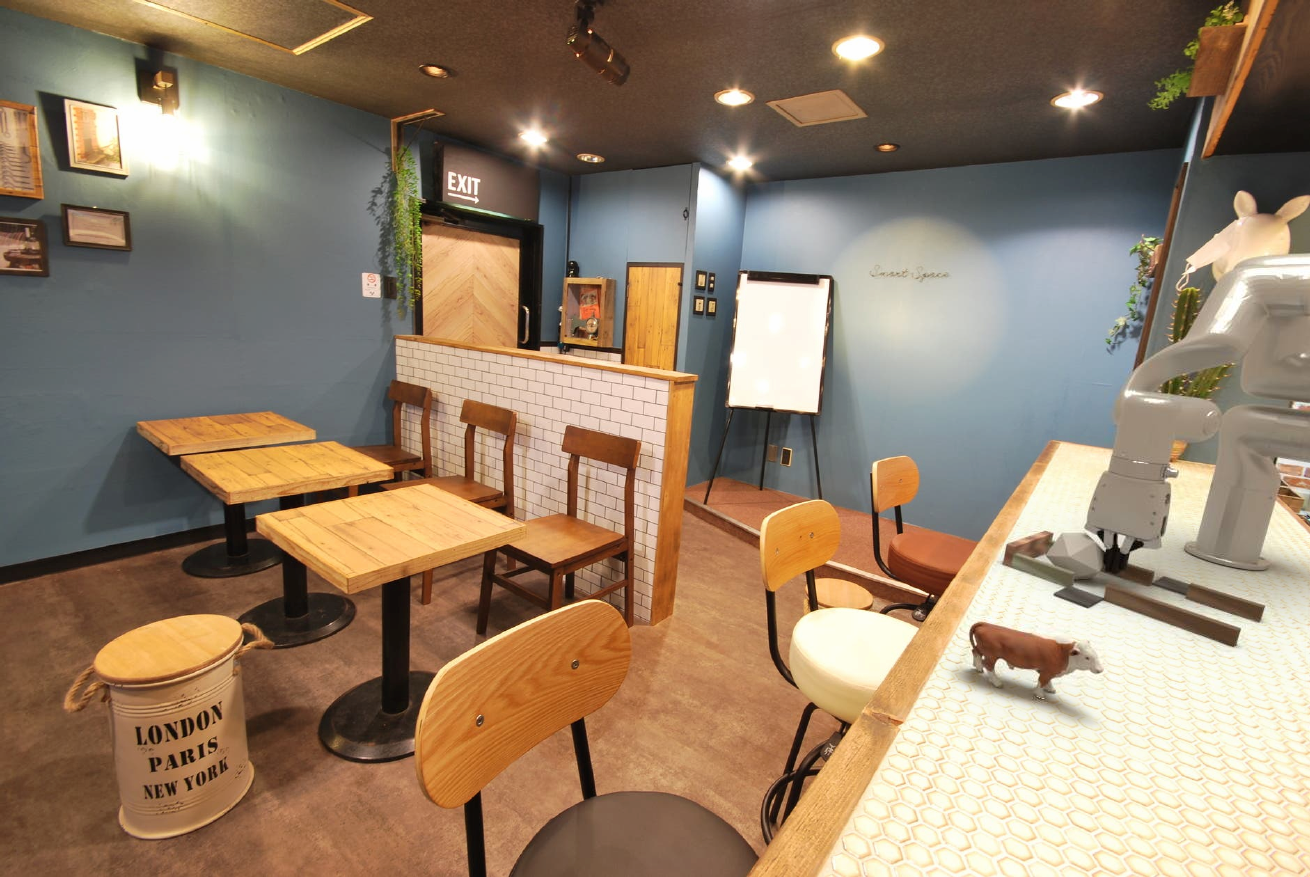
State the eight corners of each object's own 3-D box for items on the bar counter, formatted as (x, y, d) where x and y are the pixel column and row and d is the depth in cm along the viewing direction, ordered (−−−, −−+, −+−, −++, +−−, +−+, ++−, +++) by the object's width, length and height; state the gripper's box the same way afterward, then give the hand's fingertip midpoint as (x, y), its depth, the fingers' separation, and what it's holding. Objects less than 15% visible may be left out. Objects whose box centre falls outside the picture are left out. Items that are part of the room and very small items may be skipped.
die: (1107, 594, 101) (1125, 545, 103) (1067, 568, 100) (1087, 519, 102) (1066, 589, 109) (1084, 544, 111) (1029, 565, 108) (1048, 520, 110)
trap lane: (1054, 544, 122) (1058, 526, 122) (1270, 611, 97) (1276, 588, 96) (986, 570, 107) (990, 549, 106) (1222, 658, 81) (1229, 631, 80)
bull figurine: (1093, 720, 66) (1109, 655, 64) (960, 677, 73) (972, 617, 71) (1090, 700, 70) (1105, 638, 68) (964, 661, 76) (974, 603, 75)
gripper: (1201, 478, 95) (1174, 584, 98) (1094, 457, 107) (1073, 552, 110) (1187, 483, 90) (1159, 593, 94) (1077, 461, 102) (1055, 559, 106)
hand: (1113, 571), depth 102 cm, fingers closed
